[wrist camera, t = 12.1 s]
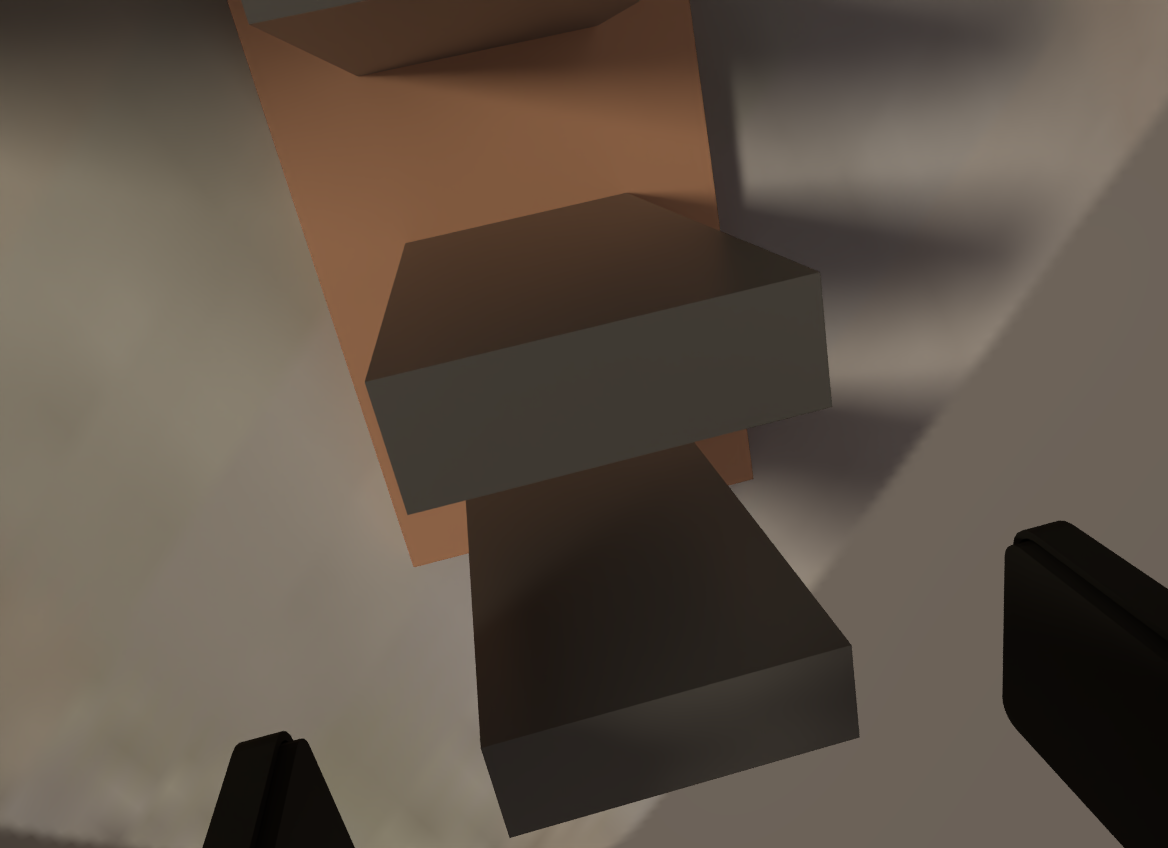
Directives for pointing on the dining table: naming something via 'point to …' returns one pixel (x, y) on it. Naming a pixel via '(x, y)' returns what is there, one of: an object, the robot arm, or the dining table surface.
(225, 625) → the dining table surface
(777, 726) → the domino
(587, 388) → the domino
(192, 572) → the dining table surface
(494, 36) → the domino
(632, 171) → the domino board
